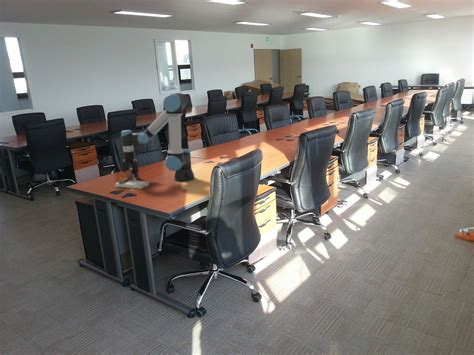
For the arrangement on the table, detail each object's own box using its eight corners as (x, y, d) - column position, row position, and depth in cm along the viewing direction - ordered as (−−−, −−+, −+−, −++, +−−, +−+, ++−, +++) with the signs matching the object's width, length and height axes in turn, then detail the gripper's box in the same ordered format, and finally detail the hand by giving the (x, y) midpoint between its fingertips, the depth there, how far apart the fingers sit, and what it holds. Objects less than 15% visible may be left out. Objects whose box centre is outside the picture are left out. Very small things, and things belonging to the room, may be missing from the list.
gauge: (131, 180, 304) (130, 168, 302) (137, 181, 303) (135, 168, 300) (117, 187, 289) (115, 173, 287) (123, 187, 287) (121, 174, 285)
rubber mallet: (137, 175, 319) (133, 138, 311) (145, 176, 316) (141, 139, 308) (127, 179, 308) (122, 141, 300) (134, 180, 305) (130, 142, 297)
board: (124, 183, 300) (123, 179, 299) (148, 185, 291) (148, 181, 291) (115, 186, 291) (115, 183, 290) (140, 188, 282) (140, 185, 282)
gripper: (115, 151, 295) (119, 181, 301) (135, 152, 288) (138, 183, 294) (121, 149, 302) (125, 179, 308) (141, 150, 295) (144, 180, 301)
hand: (131, 181), depth 301 cm, fingers closed on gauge, 5 cm apart
